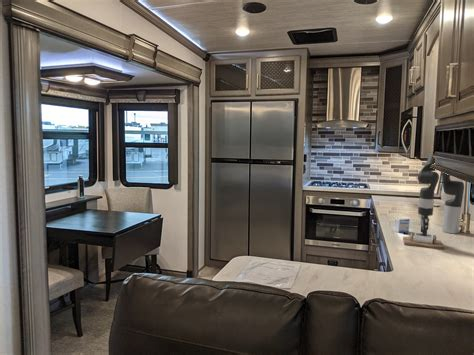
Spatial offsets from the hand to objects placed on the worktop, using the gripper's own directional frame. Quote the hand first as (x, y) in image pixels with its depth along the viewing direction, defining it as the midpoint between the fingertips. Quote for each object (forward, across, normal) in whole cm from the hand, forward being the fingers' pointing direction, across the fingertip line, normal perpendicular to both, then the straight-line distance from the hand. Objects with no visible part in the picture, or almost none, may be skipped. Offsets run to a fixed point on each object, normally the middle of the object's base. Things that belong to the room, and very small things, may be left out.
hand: (423, 234), depth 214 cm
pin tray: (+6, 0, 0) cm, 6 cm away
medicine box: (+6, -24, -10) cm, 27 cm away
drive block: (+4, 0, 0) cm, 4 cm away
